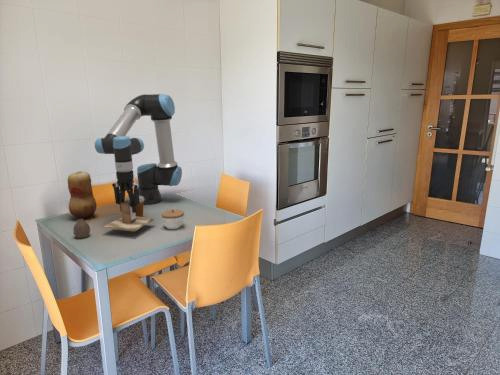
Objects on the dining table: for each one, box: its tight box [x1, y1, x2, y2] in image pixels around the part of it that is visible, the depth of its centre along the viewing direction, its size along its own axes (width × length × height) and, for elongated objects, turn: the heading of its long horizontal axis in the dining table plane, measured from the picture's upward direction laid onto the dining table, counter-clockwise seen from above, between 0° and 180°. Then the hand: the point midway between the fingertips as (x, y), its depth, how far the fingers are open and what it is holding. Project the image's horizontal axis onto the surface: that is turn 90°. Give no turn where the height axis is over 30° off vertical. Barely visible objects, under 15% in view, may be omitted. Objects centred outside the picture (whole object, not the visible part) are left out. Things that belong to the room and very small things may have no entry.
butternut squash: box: [67, 170, 98, 219], centre depth 190 cm, size 14×13×25 cm
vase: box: [72, 218, 91, 240], centre depth 164 cm, size 7×7×9 cm
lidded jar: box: [161, 208, 185, 230], centre depth 175 cm, size 11×11×9 cm
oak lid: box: [103, 199, 154, 231], centre depth 170 cm, size 16×16×11 cm
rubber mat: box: [102, 224, 157, 240], centre depth 172 cm, size 18×18×1 cm
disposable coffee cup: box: [125, 196, 145, 217], centre depth 188 cm, size 10×10×12 cm
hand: (129, 218), depth 171 cm, fingers closed on oak lid, 4 cm apart
